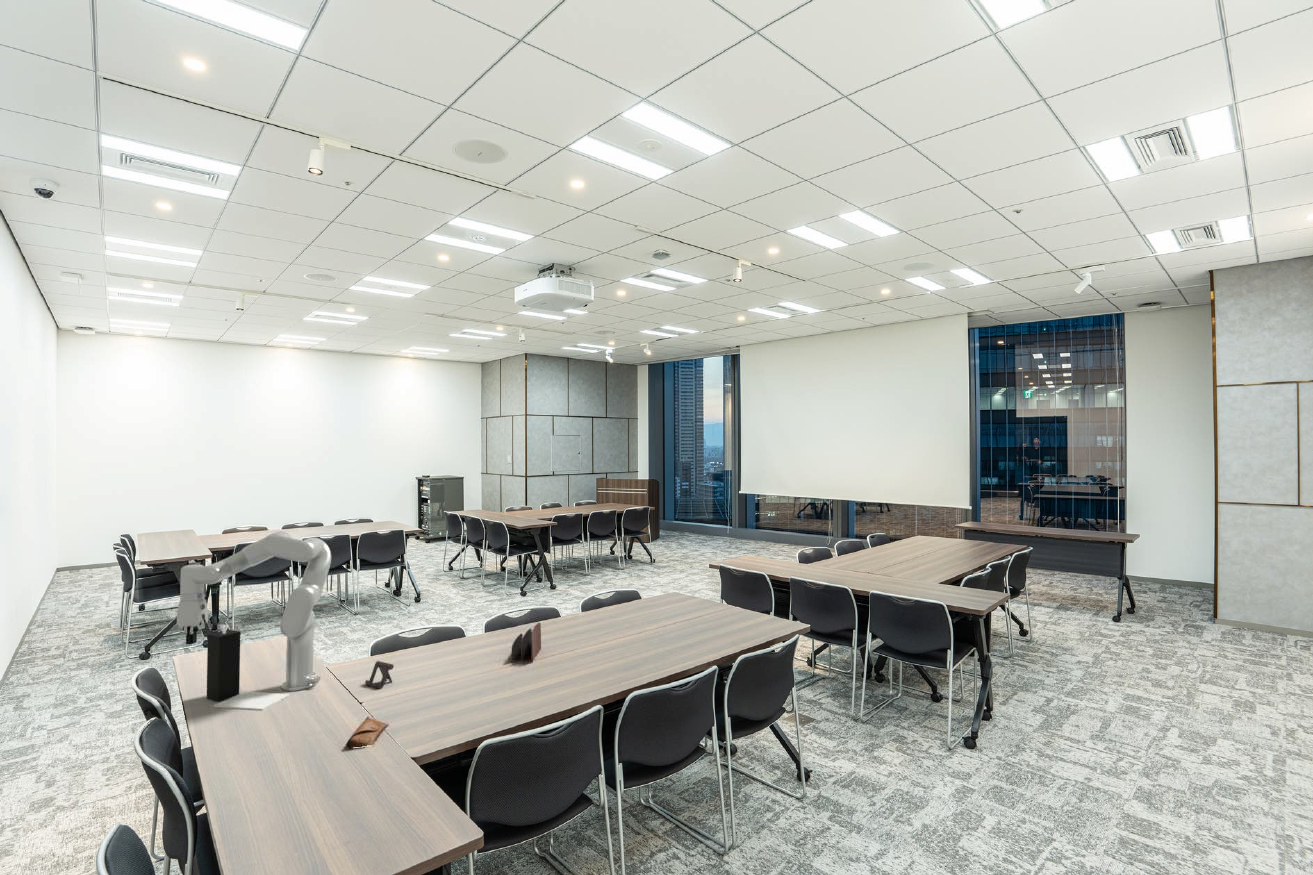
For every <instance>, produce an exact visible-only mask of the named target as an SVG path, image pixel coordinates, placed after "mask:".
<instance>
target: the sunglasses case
mask: <svg viewBox="0 0 1313 875" xmlns="http://www.w3.org/2000/svg"><path fill="white" fill-rule="evenodd" d="M389 726H390V724H389V723H386V722H383V721H380V720H377V719H374V718H371V717H370V716H367V717H366V718H365V719H364V720H363V722H362V723H361V724H360V725H359V726H358V727H357V728H356V729H355V731H354V732H353V733H352V734H351V736H350V738H349V739H348V740H347V742H346V749H348V748H353V747H362V746H367V745H373V744H374V742H375V741H376V742H377V740H378V739H377V738H379V737H380V736H381V735H380V734H382V733H383V732H385V729H386V728H387V727H389ZM376 742H375V743H376ZM374 745H375V744H374Z"/></svg>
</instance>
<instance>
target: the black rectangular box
mask: <svg viewBox="0 0 1313 875" xmlns="http://www.w3.org/2000/svg"><path fill="white" fill-rule="evenodd" d="M229 625H230V624H222V625H221V624H220V629H221V630H220V631H216V632H211V633H208V634H207V636H206V638H207V652H206V653H207V655H206V656H207V658H206V699H208V700H210V701H213V702H219V703H220V702H223V701H226V700H228V699H230V698H232V697H234V696H236V695H238V694H240V680H241V678H240V677H241V676H240V672H241V670H240V669H241V634H242V632H241V631H239V630H234V629H229Z"/></svg>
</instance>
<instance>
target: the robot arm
mask: <svg viewBox="0 0 1313 875" xmlns="http://www.w3.org/2000/svg"><path fill="white" fill-rule="evenodd" d="M275 557H276V558H279V559H283V560H288V561H293V562H299V563H306V562H307V566H306V568H305V570H304V572H303V576H302V579H301V582H300V584H299V585H298V586H296V588H294V590H293V591H292V592H290V595H289V597H288V599H287V602H286V605H285V608H284V611H283V613H282V617H281V619H280V623H279V629H280V632H281V634H282V635H283V636H285V637H286V653H285V654H286V657H285V658H286V660H285V662H286V663H285V664H286V665H285V682H282V684H281V685H280V686H281V690H283V691H288V692H291V691H293V692H294V691H302V690H305V689H309V688H311V687H314V686H315V685H317V684H318V683H319V682H320V680H321V676H317V675H316V672H314V636H315V635H314V633H315V626H316V615H315V612H314V611H313V608H314V606H315V604H317V603H318V601H319V600H320V599H321V596H322V593H323V589H324V587H325V583H326V581H327V576H328V573H329V571H330V567H331V563H332V552H331V549H330V547H329V545H328V544H327V543H326V542H325V541H324V540H322V539H321V538H319V537H308V538H305V539H303V540H301V539H296V538H293V537H292V536H291V534H290V533H289V532H286V531H281V530H280V531H276V532H273V533H271V534H268V535H266V536H265V537H264V538H261V539H259V540H257V541H256V542H255V541H254V542H253V543H251V544H248V545H246V546H245V547H243V548H242V549H241V550H240V551H238V552H237V553H234V554H232V555H230V556H228V557H226V558H224V559H221V560H219V561H217V562H214V563H212V564H211V563H210V564H209V565H203V564H188V565H185V566H183V567H181V569H180V589H179V590H180V593H179V596H180V597H179V598H180V599H179V601H178V606H177V612H176V624H177V626H178V628H179V629H181V630H183V632H184V635H185V644H186V645H190V646H191V645H193V644H196V643H197V641H198V638H197V637H198V633H199V631H200V630H202V629H205V628H206V624H208V622H209V610H208V609H209V608H208V603H207V600H206V598H205V597H206V594H205V585H214V584H217V583H219V582H221V581H223V580H226V579H228V578H230V577H232V576H234V575H236V574H238V573H240V572H243V571H244V570H246V569H249V568H252V567H254V566H257V565H259V564H261V563H263V562H265V561H268V560H269V559H272V558H275Z"/></svg>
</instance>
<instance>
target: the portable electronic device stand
mask: <svg viewBox="0 0 1313 875" xmlns="http://www.w3.org/2000/svg"><path fill="white" fill-rule="evenodd" d="M378 669H379V671H380V673H381V676H382V678H381V680H380V682H379V683H378V682H374V679H375V678H376V677H375V676H376V674H377V671H378ZM393 669H394V664H391V663H390V662H389V663H388V662H385V661H380V660H376V661H375V664H374V665H373V669H372V672H371V676H370V678H369V680H367V679H366V680H365V682H364V684H365V685H366V686H368V687H373V688H376V689H380V690H381V689H383V688H384V685H385V682H388V681H389V683H393V681H392V677H391V675H390V672H389V671H390V670H393Z"/></svg>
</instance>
